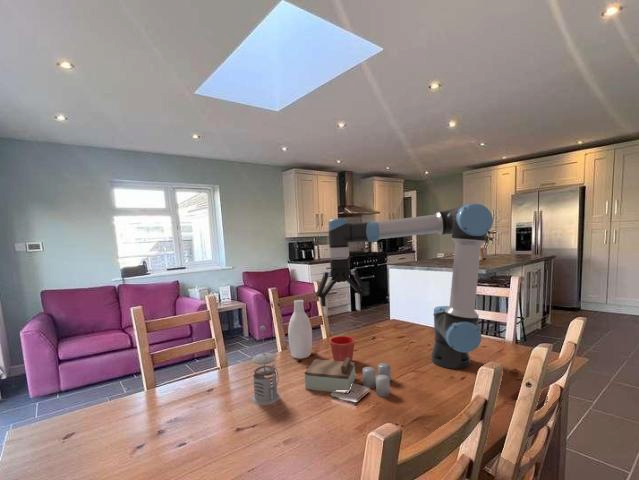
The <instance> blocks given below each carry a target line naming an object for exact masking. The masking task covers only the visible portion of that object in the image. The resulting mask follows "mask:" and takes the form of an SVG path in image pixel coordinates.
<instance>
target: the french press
mask: <svg viewBox="0 0 639 480" xmlns="http://www.w3.org/2000/svg"><path fill="white" fill-rule="evenodd" d="M259 330H260V331H262V335H264V330H266V327H265V325H260V327H259ZM264 342H265V341H264V339H262V349H263V350H262V351H263V352H262V353H259V354H257V355H255V356H254V357H253V358H252V359H251V361H252V363H253V364H255V365H261V366H259V367H256V368H255V369H254V371H253V372H254V374H253V386H254V387H253V390H254V391H253V393H254V395H253V396H252V397H251V402H252V403H253V404H255V405H257V406H268V405H272V404H274V403H276V402H278V401H279V399H280V398H281V394H280V393H279V392H278V384H279V380H280V379H279V377H280V376H279V372H278V370H277V367H276V366H275V364H272V365H267V364H271V363H273V362H274V361H275V360H276V359H277V357H276V355H275V354H273V353H270V352H265V345H264ZM266 376H267V377H266ZM269 376H270V377H269ZM271 379H272V380H271Z"/></svg>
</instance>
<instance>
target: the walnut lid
mask: <svg viewBox="0 0 639 480" xmlns="http://www.w3.org/2000/svg"><path fill="white" fill-rule="evenodd" d="M354 365H355V366H356V364H355V362H354V361H352V362H350V358H348V357H346V359H345V360H344V361H334V360H327V359H319V358H316V359H314V360H313V361H312V362H311V364H310V365H309V366H308V367H307V369H306V370H305V371H304V376H305V375H316V376H327V377H337V378H349V376H350V374H351V371H352V369H353V367H354Z"/></svg>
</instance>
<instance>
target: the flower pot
mask: <svg viewBox="0 0 639 480" xmlns="http://www.w3.org/2000/svg"><path fill="white" fill-rule="evenodd" d="M329 343H330V349H331V354H332V359H333V361H344V360H345V359H346V357H348V358H350V362H353V358H354V357H353V356H354V350H355V349H354V348H355V343H356V342H355V339H354V337H351V336H347V335H341V336H340V335H339V336H334V337H331V338H330V339H329Z"/></svg>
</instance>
